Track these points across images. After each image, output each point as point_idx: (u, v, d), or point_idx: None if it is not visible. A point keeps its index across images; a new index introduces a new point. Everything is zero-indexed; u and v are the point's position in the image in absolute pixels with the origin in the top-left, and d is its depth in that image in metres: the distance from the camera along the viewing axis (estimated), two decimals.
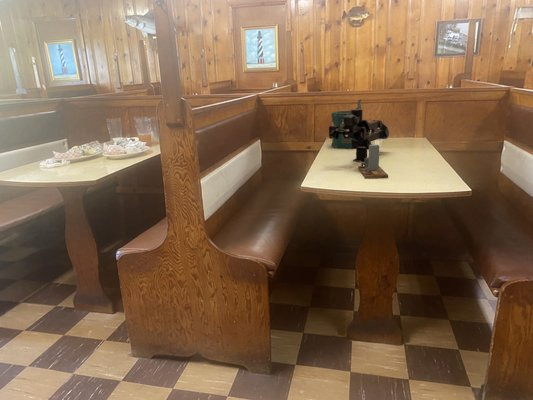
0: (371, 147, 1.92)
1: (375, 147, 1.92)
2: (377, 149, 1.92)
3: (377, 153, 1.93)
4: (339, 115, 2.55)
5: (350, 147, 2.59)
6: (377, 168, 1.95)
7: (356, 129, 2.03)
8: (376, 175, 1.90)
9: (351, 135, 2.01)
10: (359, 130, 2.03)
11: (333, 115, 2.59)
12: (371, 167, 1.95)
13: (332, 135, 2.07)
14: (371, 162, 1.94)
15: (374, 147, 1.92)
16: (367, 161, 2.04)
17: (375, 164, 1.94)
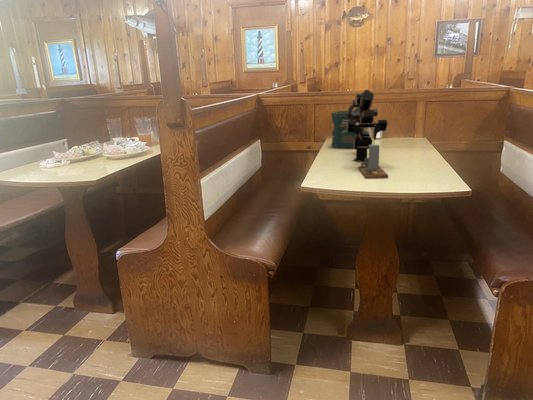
0: (371, 147, 1.92)
1: (375, 147, 1.92)
2: (377, 149, 1.92)
3: (377, 153, 1.93)
4: (339, 115, 2.55)
5: (350, 147, 2.59)
6: (377, 168, 1.95)
7: (377, 126, 2.06)
8: (376, 175, 1.90)
9: None
10: (379, 126, 2.06)
11: (333, 115, 2.59)
12: (371, 167, 1.95)
13: None
14: (371, 162, 1.94)
15: (374, 147, 1.92)
16: (367, 161, 2.04)
17: (375, 164, 1.94)
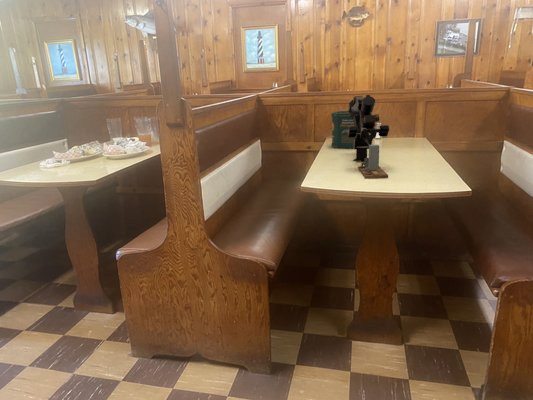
0: (371, 147, 1.92)
1: (375, 147, 1.92)
2: (377, 149, 1.92)
3: (377, 153, 1.93)
4: (339, 115, 2.55)
5: (350, 147, 2.59)
6: (377, 168, 1.95)
7: (372, 132, 2.03)
8: (376, 175, 1.90)
9: (371, 142, 2.03)
10: (375, 132, 2.03)
11: (333, 115, 2.59)
12: (371, 167, 1.95)
13: None
14: (371, 162, 1.94)
15: (374, 147, 1.92)
16: (367, 161, 2.04)
17: (375, 164, 1.94)
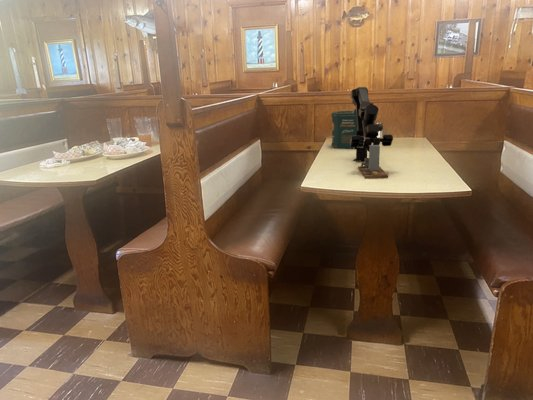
0: (371, 147, 1.91)
1: (375, 147, 1.91)
2: (377, 149, 1.92)
3: (377, 153, 1.92)
4: (339, 115, 2.55)
5: (350, 147, 2.59)
6: (377, 168, 1.94)
7: (376, 141, 1.96)
8: (376, 175, 1.90)
9: None
10: (378, 141, 1.97)
11: (333, 115, 2.59)
12: (371, 167, 1.94)
13: None
14: (371, 162, 1.93)
15: (374, 147, 1.91)
16: (367, 161, 2.04)
17: (375, 164, 1.93)
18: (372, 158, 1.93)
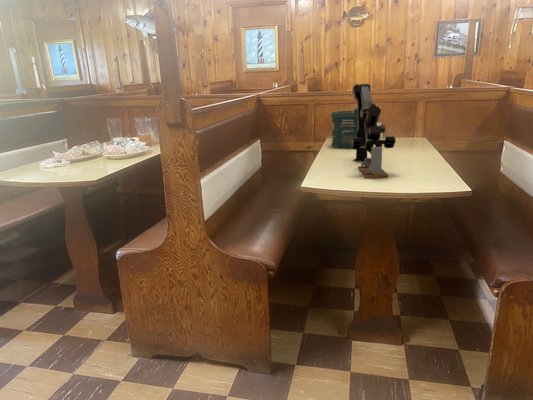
0: (373, 149, 1.87)
1: (378, 149, 1.87)
2: (380, 151, 1.87)
3: (380, 155, 1.88)
4: (339, 115, 2.55)
5: (350, 147, 2.59)
6: (380, 171, 1.90)
7: (378, 143, 1.92)
8: (376, 175, 1.90)
9: None
10: (381, 143, 1.92)
11: (333, 115, 2.59)
12: (373, 169, 1.89)
13: None
14: (373, 165, 1.89)
15: (377, 149, 1.87)
16: (367, 161, 2.04)
17: (378, 167, 1.89)
18: (374, 160, 1.88)
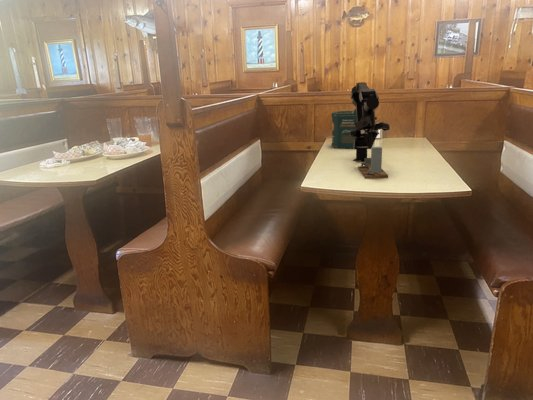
0: (373, 149, 1.87)
1: (378, 149, 1.87)
2: (380, 151, 1.87)
3: (380, 155, 1.88)
4: (339, 115, 2.55)
5: (350, 147, 2.59)
6: (380, 171, 1.90)
7: (369, 134, 2.00)
8: (376, 175, 1.90)
9: (371, 143, 2.02)
10: (372, 132, 2.00)
11: (333, 115, 2.59)
12: (373, 169, 1.89)
13: None
14: (373, 165, 1.89)
15: (377, 149, 1.87)
16: (367, 161, 2.04)
17: (378, 167, 1.89)
18: (374, 160, 1.88)
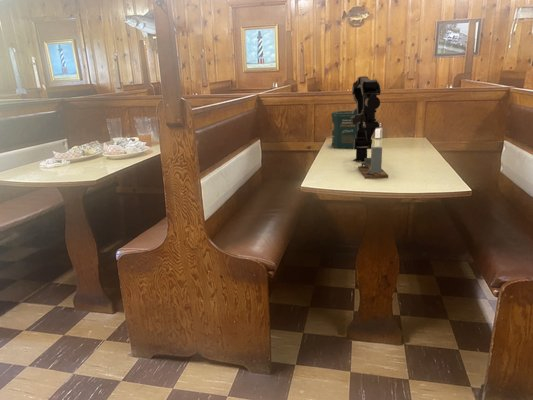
0: (373, 149, 1.87)
1: (378, 149, 1.87)
2: (380, 151, 1.87)
3: (380, 155, 1.88)
4: (339, 115, 2.55)
5: (350, 147, 2.59)
6: (380, 171, 1.90)
7: (364, 128, 2.04)
8: (376, 175, 1.90)
9: (368, 136, 2.05)
10: (365, 128, 2.02)
11: (333, 115, 2.59)
12: (373, 169, 1.89)
13: None
14: (373, 165, 1.89)
15: (377, 149, 1.87)
16: (367, 161, 2.04)
17: (378, 167, 1.89)
18: (374, 160, 1.88)
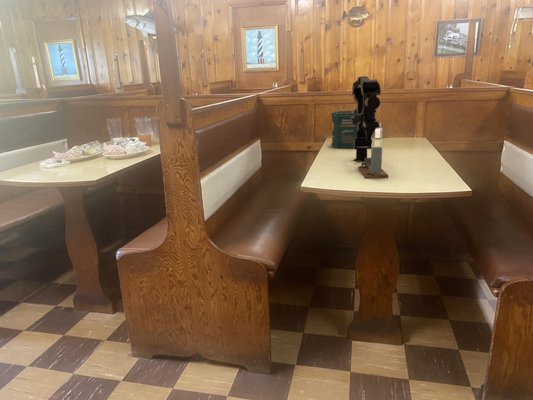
0: (373, 149, 1.87)
1: (378, 149, 1.87)
2: (380, 151, 1.87)
3: (380, 155, 1.88)
4: (339, 115, 2.55)
5: (350, 147, 2.59)
6: (380, 171, 1.90)
7: (364, 128, 2.04)
8: (376, 175, 1.90)
9: (368, 136, 2.05)
10: (365, 128, 2.02)
11: (333, 115, 2.59)
12: (373, 169, 1.89)
13: None
14: (373, 165, 1.89)
15: (377, 149, 1.87)
16: (367, 161, 2.04)
17: (378, 167, 1.89)
18: (374, 160, 1.88)
